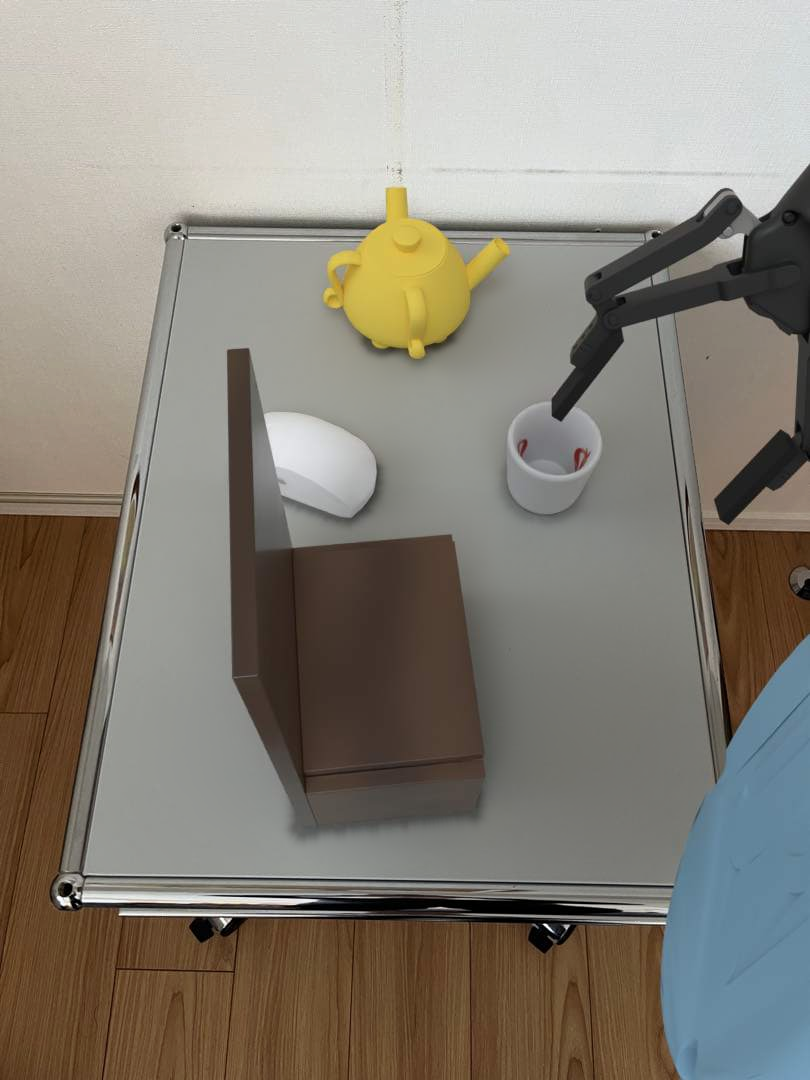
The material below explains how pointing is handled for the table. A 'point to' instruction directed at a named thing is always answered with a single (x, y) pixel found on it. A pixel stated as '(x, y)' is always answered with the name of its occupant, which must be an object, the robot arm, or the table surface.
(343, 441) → the computer mouse
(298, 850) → the table surface
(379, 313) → the teapot
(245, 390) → the wooden chair
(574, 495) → the cup
